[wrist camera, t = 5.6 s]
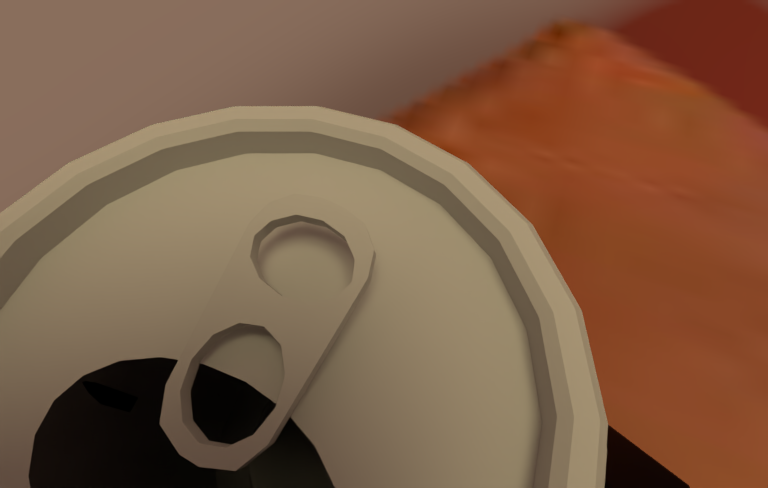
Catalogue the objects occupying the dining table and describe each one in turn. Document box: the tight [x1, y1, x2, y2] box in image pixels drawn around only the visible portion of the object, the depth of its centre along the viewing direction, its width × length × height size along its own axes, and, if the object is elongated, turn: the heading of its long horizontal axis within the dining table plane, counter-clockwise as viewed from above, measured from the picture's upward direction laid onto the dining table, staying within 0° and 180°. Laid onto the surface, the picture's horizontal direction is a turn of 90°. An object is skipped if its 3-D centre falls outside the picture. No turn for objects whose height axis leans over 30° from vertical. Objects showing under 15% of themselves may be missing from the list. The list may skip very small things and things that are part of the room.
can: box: [0, 106, 608, 488], centre depth 9 cm, size 8×8×12 cm
